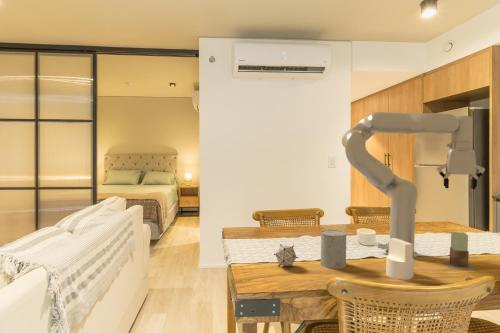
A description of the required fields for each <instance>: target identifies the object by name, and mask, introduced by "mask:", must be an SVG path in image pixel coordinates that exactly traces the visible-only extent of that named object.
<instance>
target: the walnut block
mask: <svg viewBox="0 0 500 333" xmlns="http://www.w3.org/2000/svg"><path fill="white" fill-rule="evenodd" d="M469 254H470V252H469V251H456V250H453V249H452V248H451V246H450V247H449V261H450V263H451V264H452V266H456V267H468V263H469V258H470V257H469Z"/></svg>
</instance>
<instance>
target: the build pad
mask: <svg viewBox="0 0 500 333" xmlns="http://www.w3.org/2000/svg"><path fill="white" fill-rule="evenodd" d="M442 261H443V263H444V264H445V265H446V266H447V267H448V268H449V269H450V268H451V269H460V270H461V269H462V270H474V271H476V270H477V269H476V268H475V267H474V266H473V265H472V264H471V263H469V262H468V267H456V266H452V264H451V263H450V260H442Z"/></svg>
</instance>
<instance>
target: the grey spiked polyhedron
mask: <svg viewBox="0 0 500 333" xmlns="http://www.w3.org/2000/svg"><path fill="white" fill-rule="evenodd" d="M294 247H295V245H294V244H293V245H292V246H286V245H282V243H280V247H279V249H278V250H277V252H276V253H273V255H274V256H275V257H276V260H277V262H278V265H277V267H278V268H279V267H280V266H283V267H284V266H285V267H290V269H293V264H294V262H295V261H296V259H298V258H299V257H298V256H297V254H296V252H295V250H294Z"/></svg>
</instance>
